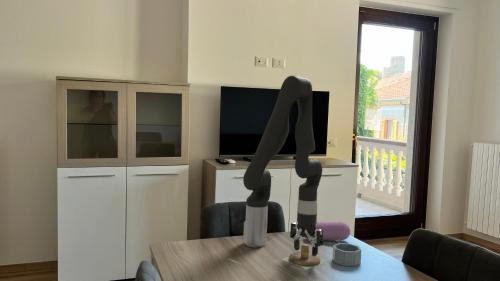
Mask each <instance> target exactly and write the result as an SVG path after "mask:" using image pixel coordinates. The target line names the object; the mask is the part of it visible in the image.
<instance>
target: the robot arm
mask: <svg viewBox="0 0 500 281" xmlns="http://www.w3.org/2000/svg"><path fill="white" fill-rule="evenodd" d="M278 92H279V93H278V95H277V99H276V103H275V106H274V109H273V110H272V113H271V116H270V118H269V120H268V123H267V124H266V127H265V129H264V131H263V135H262V137H261V140H260V141H259V144H258V146H257V149H256V151H255V152H254V155H253V158H252V159H251V161H250V163H249V165H248V166H247V168H246V169H245V171H244V174H243V177H242V178H243V179H242V182H243V186H244V188H245V189H246V190H248V191H252V192H251V194H250V195H249V196H247V198H246V199H245V200H246V202H245V221H243V240H242V241H243V244H244V245H245V246H246V247H249V248H254V249H255V248H256V249H258V248H264V247H266V246H267V233H268V232H267V230H268V208H269V206H268V205H269V201H270V197H271V190H272V176H271V175H272V174H271V172H270V170H269V169H267V166H268V165H269V164H270V161H272V160H273V159H274V158H275V156H276V155H277V154H278V153H279V152H280V151H281V150H282V148H283V146H284V144H285V142H286V141H287V140H286V139H287V138H288V135H289V131H290V121H289V119H290V118H289V117H290V112H291V109H292V107H293V104H294V103H295V101H296V103H297V107H298V108H297V109H298V116H297V121H296V124H295V127H294V128H295V130H294V139H295V145H296V146H295V147H296V154H295V159H294V160H295V161H294V170H295V174H296V175H297V177H299V178H300V179H305V182H303V183H302V184H300V185H299V186H298V199H297V201H298V202H297V205H296V206H297V211H296V212H297V213H296V222H295V221H294V222H292V223H290V231H289V233H290V234H289V238H290V239H293V248H294V250H295V251H299V250H300V249H301V245H300V244H301V241H300V239H301V238H305V239H308V240H309V242H310V243H311V245H312V246H311V254H312V256H316V255H317V256H318V254H319V253H318V252H319V247H320V246H323V244H324V240H323V230H322V229H321V230H318V229H316V223H317V222H318V221H317V220H318V189H319V185H320V182H321V178H322V175H323V166H322V163H321V162H320V161H319V159H315V158H313V159H312V158H310V159H309V156H310V154H311V153H314V152H315V150H316V144H315V137H314V129H313V85H312V82H311V80H310V79H308V78H306V77H302V76H298V75H288V76H287V77H286V78H285V79H284V80H283V82H282V83H281V87H280V90H279V91H278ZM315 233H316V235H317V237H316V235H315ZM312 236H313V238H312Z"/></svg>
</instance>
